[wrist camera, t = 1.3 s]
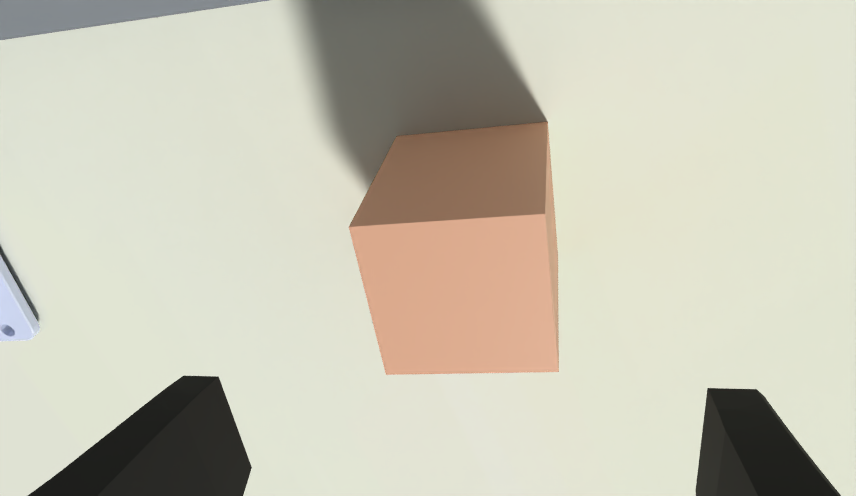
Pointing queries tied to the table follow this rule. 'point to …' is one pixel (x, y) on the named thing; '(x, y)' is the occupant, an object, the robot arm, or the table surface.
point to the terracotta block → (462, 252)
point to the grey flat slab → (90, 13)
